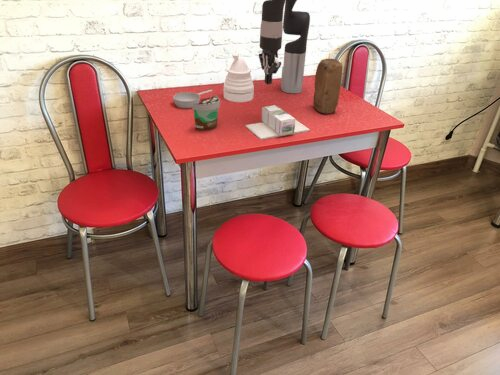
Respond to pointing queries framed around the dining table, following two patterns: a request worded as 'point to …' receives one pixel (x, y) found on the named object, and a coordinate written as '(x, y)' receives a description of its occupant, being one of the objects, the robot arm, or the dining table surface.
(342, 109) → the dining table surface
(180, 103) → the saucepan
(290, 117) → the syrup box
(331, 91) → the block
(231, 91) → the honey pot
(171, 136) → the dining table surface
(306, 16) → the robot arm
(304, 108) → the dining table surface
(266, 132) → the mat
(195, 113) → the food container
